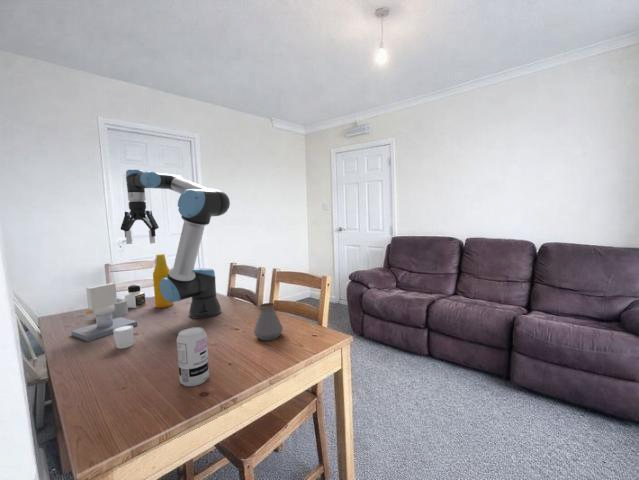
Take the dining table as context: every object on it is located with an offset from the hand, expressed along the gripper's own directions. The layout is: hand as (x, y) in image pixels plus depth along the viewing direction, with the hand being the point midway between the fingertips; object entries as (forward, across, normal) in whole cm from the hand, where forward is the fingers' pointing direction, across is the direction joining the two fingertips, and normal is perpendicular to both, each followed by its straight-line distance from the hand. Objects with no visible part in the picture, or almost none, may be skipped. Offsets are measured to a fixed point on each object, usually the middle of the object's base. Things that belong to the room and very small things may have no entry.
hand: (140, 243), depth 159 cm
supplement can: (+37, +65, -56) cm, 93 cm away
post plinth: (+37, -2, -23) cm, 43 cm away
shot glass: (+37, +21, -36) cm, 56 cm away
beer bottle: (+37, -2, +16) cm, 40 cm away
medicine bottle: (+37, -19, +13) cm, 43 cm away
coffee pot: (+37, +71, -19) cm, 82 cm away
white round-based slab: (+28, -3, -23) cm, 37 cm away
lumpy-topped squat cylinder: (+37, -17, -3) cm, 41 cm away
